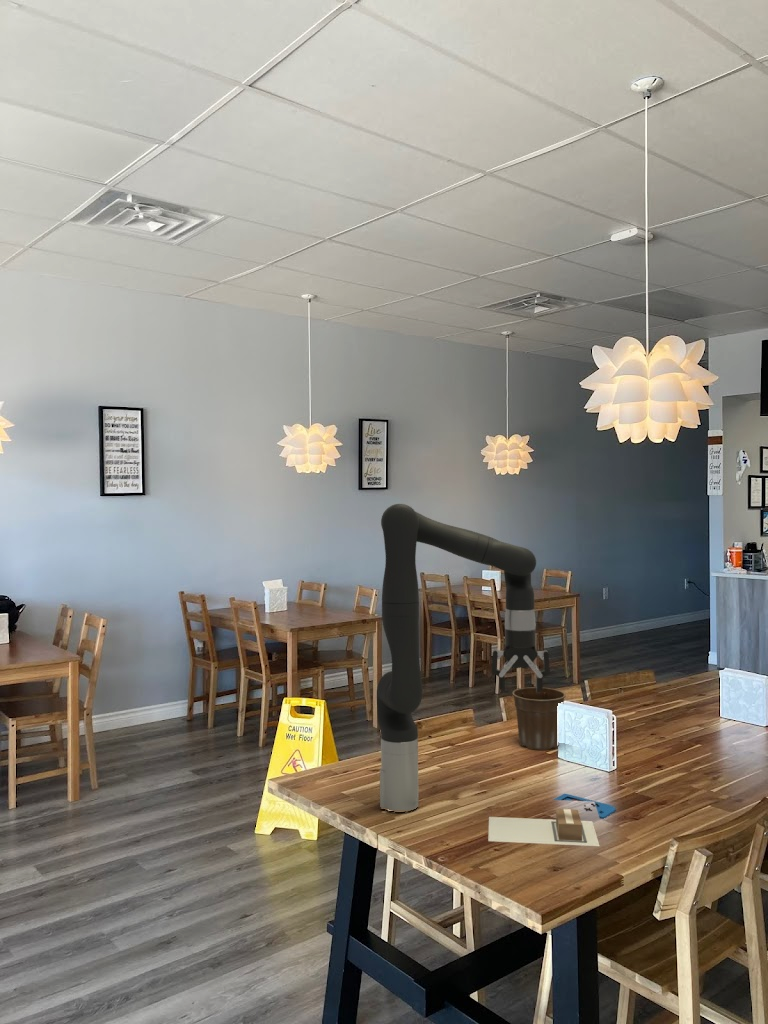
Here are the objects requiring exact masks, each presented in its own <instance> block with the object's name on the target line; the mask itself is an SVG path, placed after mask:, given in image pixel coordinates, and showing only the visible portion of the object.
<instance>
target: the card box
mask: <svg viewBox="0 0 768 1024" xmlns="http://www.w3.org/2000/svg"><path fill="white" fill-rule="evenodd" d="M555 820H556V826H557V832H558V837H559V840H577V841H582V823H581V821H582V820H581V817H580V812H579V809H569V808H568V809H567V808H555Z"/></svg>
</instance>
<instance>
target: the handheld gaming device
mask: <svg viewBox="0 0 768 1024" xmlns="http://www.w3.org/2000/svg"><path fill="white" fill-rule="evenodd" d="M552 800H553V801H568V802H569V801H574V802H575V801H577V802H594V803H590V804H591V806H592V807H593V808H596V810H597V811H596V812H597V814H598V817H599V819H602V820H605V819H606V818H608V817H609V816H611V815H612V814H614V813H615V812H616V811H615V810H616V807H615V806H614V805H611V804H607V803H605V802H599V801H596V800H592V799H587V798H586V797H581V796H576V795H572V794H568V793H562V794H561V795H559V796H557V797H555V798H553V799H552ZM583 807H584V808H583V810H585V811H586V812H588V811H589V812H593V809H591V807H589V808H585V807H586V805H585V804H584V805H583ZM613 812H614V813H613ZM610 814H611V815H610ZM607 816H608V817H607ZM604 818H605V819H604Z"/></svg>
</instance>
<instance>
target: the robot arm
mask: <svg viewBox="0 0 768 1024" xmlns="http://www.w3.org/2000/svg"><path fill="white" fill-rule="evenodd" d="M380 524H381V525H380V526H381V529H382V533H383V534H382V536H383V539H384V540H383V541H384V552H385V564H384V565H385V566H384V572H383V573H384V574H383V580H382V589H381V590H382V593H381V622H382V626H383V631H384V634H385V638H386V641H387V644H388V646H389V651H390V655H391V671H388V672H386V673H385V674H383V675H382V676H381V677H380V679H379V681H378V683H377V687H376V710H377V711H376V712H377V713H376V714H377V715H376V716H377V724H378V727H379V731H380V764H381V765H380V770H379V808H380V807H383V808H387V809H389V810H393V811H408V810H413V809H416V808H417V807H418V808H419V730H418V725H417V724H416V723H415V721H414V718H413V715H412V713H414V712H415V711H417V709H418V708H419V706H420V705H421V703H422V700H423V699H422V698H423V682H422V674H421V673H422V672H421V671H422V670H421V664H420V663H421V661H420V628H419V627H420V624H419V623H420V593H419V582H418V580H419V579H418V574H417V573H418V571H417V565H416V561H417V560H416V557H417V556H416V555H417V551H416V550H417V543H422V544H424V545H428V546H431V547H435V548H438V549H440V550H444V551H445V552H448V553H451V554H453V555H455V556H458V557H460V558H462V559H466V560H469V561H472V562H475V563H478V564H482V565H485V566H491V567H493V568H497V569H499V570H501V571H503V576H504V583H505V615H504V650H498V649H496V648H494V649H493V650H492V661H491V674H492V675H494V676H497V677H498V686H499V687H498V688H499V690H500V691H501V692H502V693H505V692H506V685H505V684H506V679H505V677H506V676H505V675H506V674H507V673H508V671H510V669H511V668H513V669H520V668H522V669H528V668H530V669H531V670H532V671H533V672H534V674H535V675H536V681H535V682H536V686H535V687H537V693H540V691H542V689H543V688H544V687H543V679H544V677H546V676H550V675H551V671H550V658H549V657H550V655H549V652H548V650H547V649H544V650H538V651H537V649H536V647H537V646H536V644H537V642H536V640H537V639H536V636H537V635H536V626H537V624H536V614H535V593H534V588H533V586H532V573H533V572H534V570H535V569H536V566H537V560H536V556H535V554H534V553H533V552H532V551H531V550H530V549H529V548H526V547H522V546H519V545H514V544H511V543H509V542H504V541H500V540H498V539H495V538H493V537H491V536H489V535H485V534H482V533H480V532H476V531H473V530H469V529H466V528H461V527H458V526H454V525H450V524H447V523H443V522H440V521H437V520H434V519H431V518H429V517H427V516H425V515H423V514H421V513H420V512H418V511H415V509H414V508H413V507H412V506H410V505H407V504H405V503H395V504H392V505H390V506H389V507H387V508H386V509H385V510H384V511H383V513H382V515H381V520H380ZM502 656H503V657H504V658H505V660H506V662H505V663H504V664H503V666H502V668H501V669H497V668H498V660H500V659H501V657H502ZM538 656H539V658H540V660H542V661H543V670H541V669H539V667H538V666H537V663H535V662H534V661H536V659H537V658H538ZM418 808H417V809H418ZM417 809H416V810H417Z"/></svg>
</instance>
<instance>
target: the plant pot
mask: <svg viewBox="0 0 768 1024" xmlns="http://www.w3.org/2000/svg"><path fill="white" fill-rule="evenodd" d="M512 696H513V697H514V698H513V699H514V707H515V711H516V719H517V722H516V723H517V729H518V730H517V731H518V742H519V745H520V744H521V745H522V746H521V745H520V746H521V747H526V748H527V749H529V748H530V749H529V750H531V749H532V750H535V751H536V750H537V751H545V750H546V751H548V750H549V751H550V750H551V749H556V748H558V747H557V706H558V703H561V702H563V703H564V700H565V698H566V693H565V692H564V691H562V690H559V689H556V688H549V687H543V689H542V691H540V693H537V687H536V686H533V687H532V686H531V687H520V688H517V689H514V690H513V691H512Z"/></svg>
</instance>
